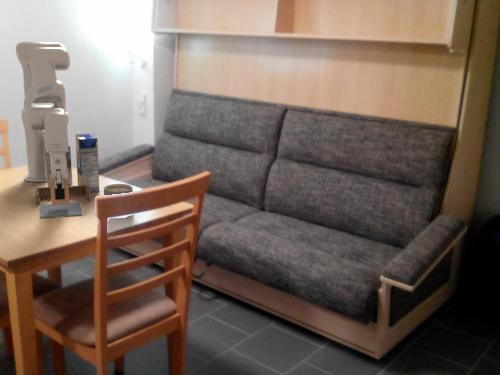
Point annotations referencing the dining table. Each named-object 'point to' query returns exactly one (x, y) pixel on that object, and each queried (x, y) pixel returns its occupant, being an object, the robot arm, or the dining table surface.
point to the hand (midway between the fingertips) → (60, 196)
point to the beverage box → (87, 161)
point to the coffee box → (69, 170)
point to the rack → (73, 192)
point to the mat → (60, 210)
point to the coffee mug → (117, 189)
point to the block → (52, 187)
